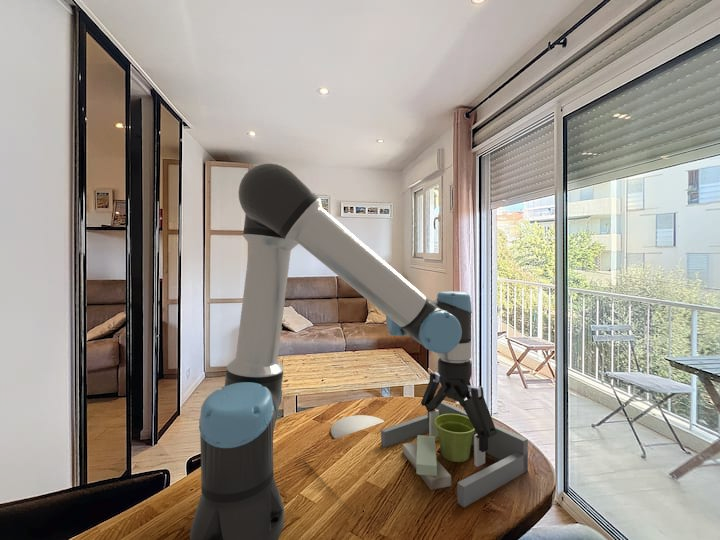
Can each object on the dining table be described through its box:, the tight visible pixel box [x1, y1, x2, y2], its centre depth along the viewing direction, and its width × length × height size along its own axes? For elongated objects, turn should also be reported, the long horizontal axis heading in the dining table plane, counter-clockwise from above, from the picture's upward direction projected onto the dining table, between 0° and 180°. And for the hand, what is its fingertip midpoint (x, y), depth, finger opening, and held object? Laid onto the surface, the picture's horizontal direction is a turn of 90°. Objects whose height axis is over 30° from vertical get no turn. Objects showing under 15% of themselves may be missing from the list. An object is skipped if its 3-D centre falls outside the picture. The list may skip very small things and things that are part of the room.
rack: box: [380, 400, 529, 508], centre depth 77 cm, size 20×26×8 cm
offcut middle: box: [402, 441, 452, 491], centre depth 73 cm, size 4×14×2 cm, turn 15°
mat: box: [330, 414, 385, 440], centre depth 92 cm, size 16×16×1 cm
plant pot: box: [434, 414, 475, 463], centre depth 78 cm, size 9×9×9 cm
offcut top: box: [415, 434, 437, 476], centre depth 73 cm, size 4×12×2 cm, turn 169°
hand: (455, 449), depth 78 cm, fingers open, 13 cm apart
